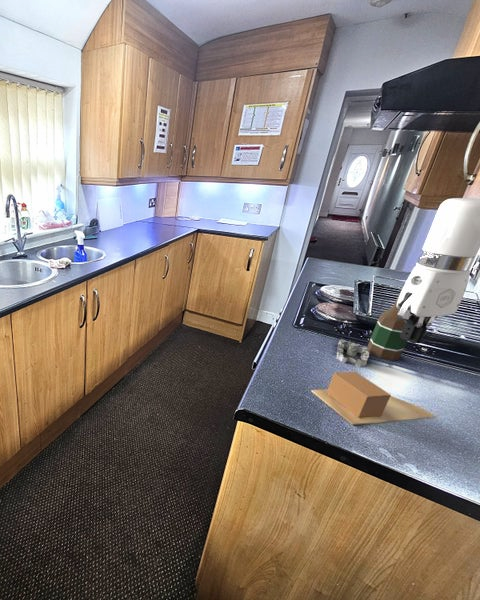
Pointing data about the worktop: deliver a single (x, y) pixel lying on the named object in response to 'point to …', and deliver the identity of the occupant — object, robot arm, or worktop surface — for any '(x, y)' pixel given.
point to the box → (358, 394)
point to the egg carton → (352, 353)
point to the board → (391, 413)
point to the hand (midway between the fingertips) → (409, 340)
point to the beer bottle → (388, 335)
